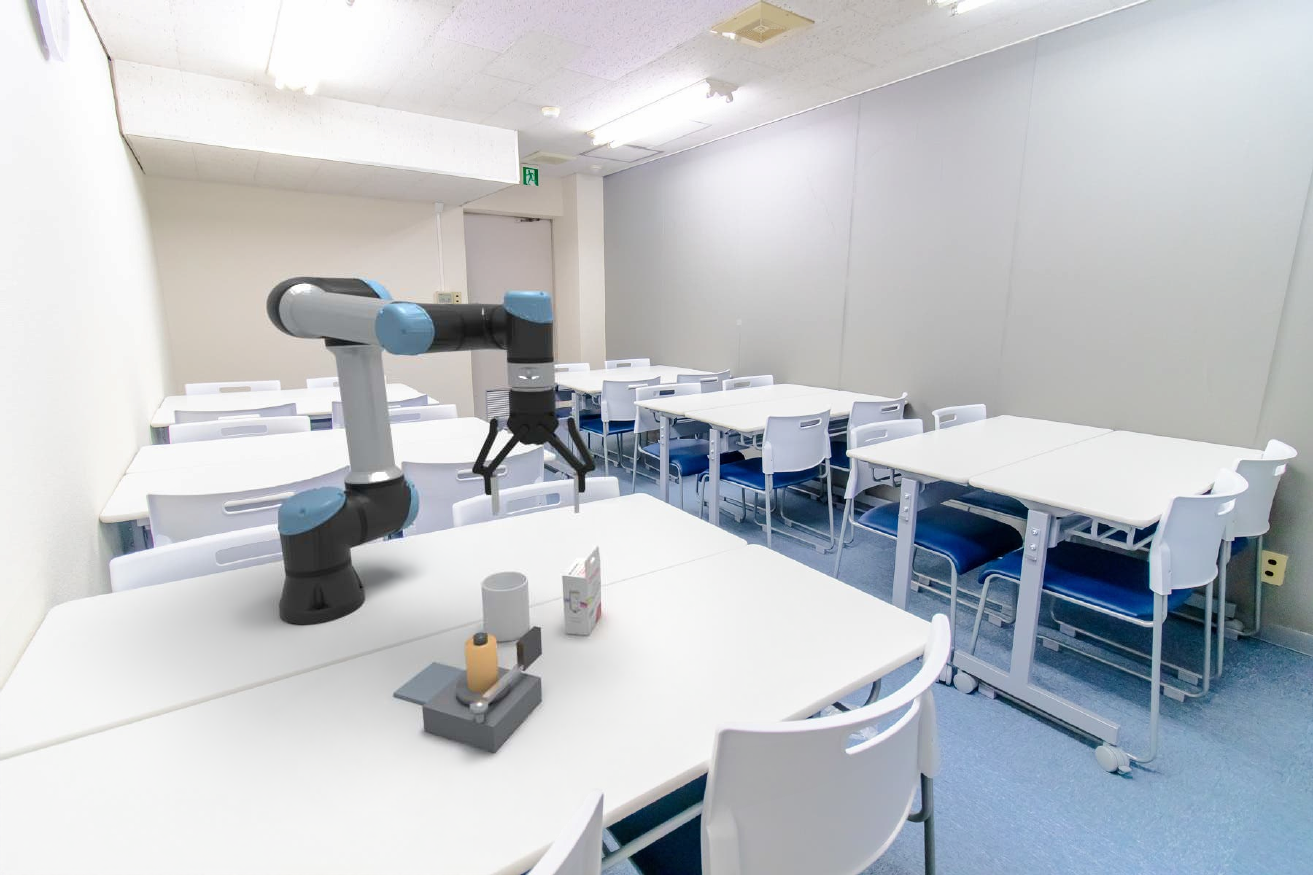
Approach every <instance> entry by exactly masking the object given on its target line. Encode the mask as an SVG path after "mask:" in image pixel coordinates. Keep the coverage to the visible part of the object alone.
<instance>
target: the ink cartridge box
mask: <svg viewBox="0 0 1313 875" xmlns="http://www.w3.org/2000/svg"><path fill="white" fill-rule="evenodd" d="M561 577H562V578H561V579H562V595H563V596H562V597H563V614H564V616H563V619H564V633H565V634H569V635H570V634H571V635H580V636H589V635H590V634H591V632H592V631H593V629H594V627H595V625H596V623H597V622H598V621H599V619H600V617H601V614H602V588H601V587H602V583H601V582H602V580H601V577H602V576H601V556H600V549H599V545H596V547H594V549H592V551H591V553H590V554H589V555H588V556H587V557H576V558H575V560H574V561H573V562H572V563H571V564H570V566H569V567H568V568H567V569H566V571H564V573H562V575H561Z"/></svg>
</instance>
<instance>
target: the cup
mask: <svg viewBox="0 0 1313 875" xmlns="http://www.w3.org/2000/svg"><path fill="white" fill-rule="evenodd" d="M480 585H481V598H482V600H481V602H482V614H483V630H484V631H483V632H485V633H487V634H490V635H493V636H494V637H495V638H496V640H497V643H504V642H505V643H506V642H512V641H516V640H519V639H520V638H521V637H523V636H524V635H525V634H526V633H527V632H528V631H529V630H530V625H531V624H530V620H531V619H530V599H529V598H530V597H529V578H528V576H527V575H526V574H525V573H523V572H521V571H513V570H507V571H506V570H505V571H499V572H495V573H491V574H489V575H487V576H486V577H484V578H483V579H482V581H481V583H480Z"/></svg>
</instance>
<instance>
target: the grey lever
mask: <svg viewBox="0 0 1313 875" xmlns="http://www.w3.org/2000/svg"><path fill="white" fill-rule="evenodd" d="M542 643H543V642H542V627H540V626H536V625H533V627H531V629H529V630H528V632H527V633H526V634H525V635H524V636H522V637H521V638H519V639H517V641H516V664H515V665H514V666H512V667H511V668H510V670H509V671H508V672H507V673H506V674H505V675H504V676H503V677H502V678H501V679H500V680H499V681H498V682H497V683H496V684H495V685H494V686H492V687H491V688H490V689H489V690H488V691H487V692H486V693H485V694H484V695H483V696H482V697H476V698H474V699H472V700H471V702H470V712H471V714H473V715H481V714H484V713H486V712H487V711H488V709H489V707H488V704H489V703H490V702H491V701H492V700H493V699H494V698H495V697H496V696H497V695H498V694H499V693H500V692H501V691H502V690H503V689H504V688H505V687H506V686H507V685H508V684H509V683H510V682H511V681H512V680H513V679H514V678H515V677H516V676H517V675H518V674H520V673H523V672H526V670H527V669H528V668H530V666H532V665H533V664H534V662H536V661H537V660H538V658H540V657H541V656H542V655H543V644H542Z"/></svg>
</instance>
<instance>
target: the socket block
mask: <svg viewBox="0 0 1313 875" xmlns="http://www.w3.org/2000/svg"><path fill="white" fill-rule="evenodd" d="M498 669H501V670H503V671H505V672H506V673H507V672H508V671H509V670H511V668H510V669H509V668H505V667H500V666H498ZM464 670H465V671H463V672H462V673H461V674H460V675H459V676H457V677H456V678H455V679H454V680H453V681H451V682H450V683H449V684H448V685H447V686H446V687H444V688H443V689H442V690H441V691H440V692H438V693H437V694H436V695H435V696H434V697H433V698H431V699H430V700H429V701H428V702H427V703H425V704H424V705H421V710H422V719H423V721H422V722H423V730H424V732H426V733H430V734H433V735H436V736H438V737H439V736H440V737H442V738H446V739H448V740H452V741H455V742H459V743H461V744H465V745H467V746H468V745H469V746H472V747H475V748H477V749H478V748H479V749H481V750H484V751H488V752H491V753H494V754H495V753H496V752H498V750H499V749H500V748H501V747H502V746H503V745H504V744H505V742H507V740H508V739H509V738H510V737H511V736H512V735H513V733H514V732H515V731H516V730H517V729H518V727H520V726H521V724H523V722H524V721H525V720H526V719H527V718H528V717H529V715H531V713H533V711H534V710H535V709H536V708H537V707H538V706H539V705H540V703H541V702H542V701H543V697H542V696H543V694H542V677H540V676H536V675H533V674H529V673H524V672H521V673H520V674H518V675H517V676H516V677H515V678H514V679H513V680H512V681H511V682H510V689H509V691H508V693H507V694H506V695H505V696H504V697H502V698H501V699H499V700H498V701H495V702H493V703H492V704H491V705H490V706H489V709H488V711H487V712H486V713H484V714H481V715H473V714H471V712H470V705H467V704H464V703H462V702H461V701H460V700H459V699H458V698H457V693H456V685H457V683H458V681H459V680H460V679H461V678H462V677H463V676H464V675H466V674H467V669H466V668H465V669H464Z"/></svg>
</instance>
